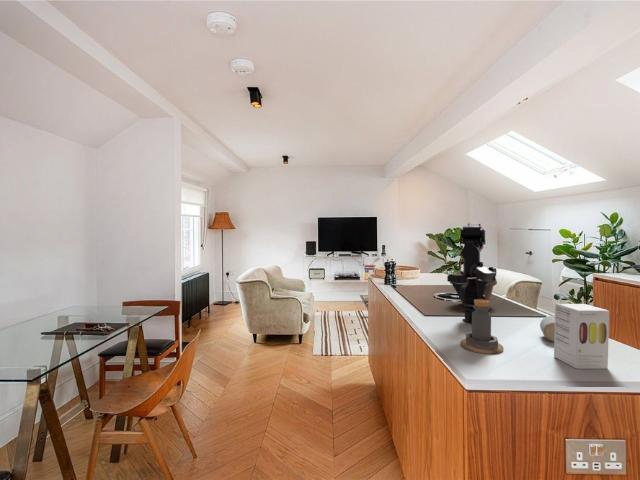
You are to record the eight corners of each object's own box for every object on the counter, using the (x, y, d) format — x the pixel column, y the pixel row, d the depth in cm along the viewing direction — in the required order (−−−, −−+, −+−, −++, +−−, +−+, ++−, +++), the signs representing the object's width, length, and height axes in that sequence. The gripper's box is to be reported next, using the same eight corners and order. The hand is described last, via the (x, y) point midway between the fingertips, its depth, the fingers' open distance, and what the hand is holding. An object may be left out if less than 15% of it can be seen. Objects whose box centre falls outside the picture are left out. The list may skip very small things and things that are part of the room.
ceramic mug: (542, 341, 116) (543, 320, 116) (539, 335, 124) (540, 314, 123) (580, 346, 112) (581, 324, 111) (574, 339, 119) (575, 318, 119)
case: (504, 308, 164) (504, 273, 164) (464, 309, 164) (463, 273, 164) (486, 301, 182) (486, 269, 181) (450, 302, 182) (450, 269, 182)
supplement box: (575, 369, 93) (576, 310, 93) (552, 356, 103) (553, 303, 102) (609, 369, 93) (610, 310, 93) (583, 356, 103) (584, 302, 102)
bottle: (470, 340, 115) (470, 298, 115) (488, 342, 114) (488, 299, 113) (473, 346, 110) (474, 301, 109) (492, 348, 108) (493, 302, 108)
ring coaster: (479, 338, 120) (480, 329, 120) (512, 350, 108) (512, 340, 108) (452, 343, 115) (452, 334, 115) (483, 356, 103) (483, 346, 103)
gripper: (469, 261, 114) (469, 306, 114) (508, 259, 121) (508, 302, 121) (446, 259, 124) (446, 300, 125) (483, 257, 131) (482, 296, 132)
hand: (471, 299), depth 125 cm, fingers open, 9 cm apart
